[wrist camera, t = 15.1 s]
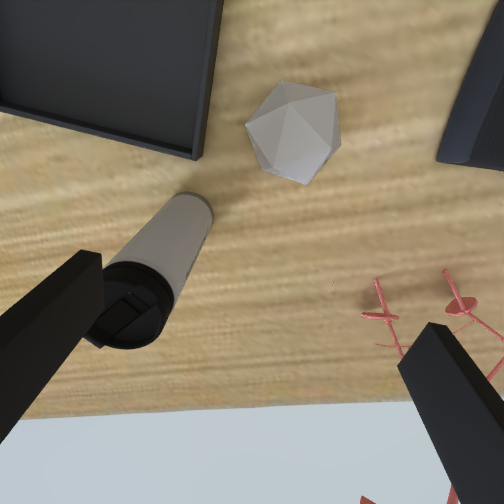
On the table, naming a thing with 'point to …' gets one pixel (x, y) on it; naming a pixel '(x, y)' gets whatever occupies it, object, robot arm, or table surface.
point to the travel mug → (151, 274)
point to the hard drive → (480, 106)
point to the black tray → (113, 68)
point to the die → (295, 131)
